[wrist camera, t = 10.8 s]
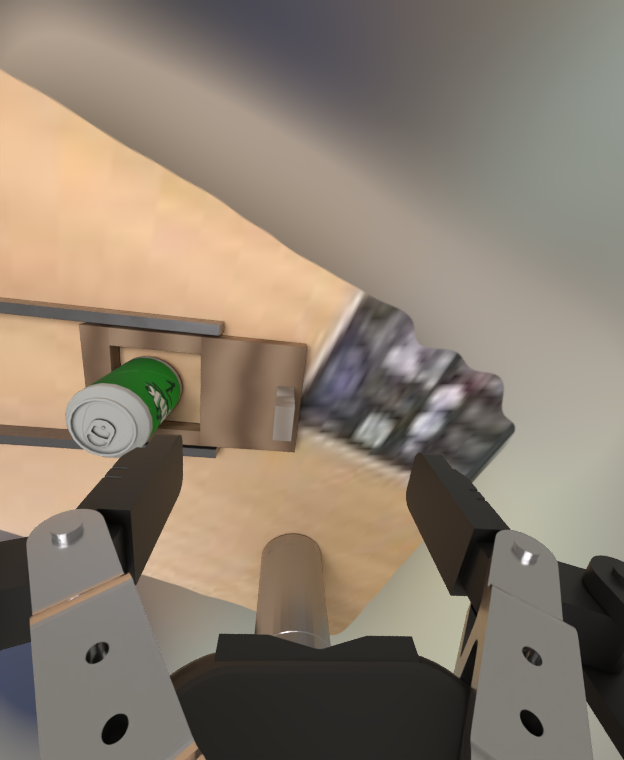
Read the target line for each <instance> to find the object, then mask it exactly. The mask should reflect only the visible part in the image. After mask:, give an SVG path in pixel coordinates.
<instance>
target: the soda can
mask: <svg viewBox="0 0 624 760" xmlns="http://www.w3.org/2000/svg"><path fill="white" fill-rule="evenodd" d="M181 394H182V384H181V381H180V378H179V376H178V374H177V373H176V371H175V370H174V369H173V367H171V366H170V365H169V364H167V363H166V362H165V361H162V360H160V359H157V358H155V357H146V356H143V357H138V358H133V359H132V360H130V361H128V362H127V363H125V364H123V365H122V366H120V367H119V368H117V369H115V370H114V371H112V372H110V373H109V374H107V375H105V376H104V377H102V378H101V379H99V380H97V381H96V382H94V383H92V384H91V385H89V386H88V387H86V388H84V389H83V390H81V391H79V392H78V393H76V394H75V395H74V396H73V398H72V399H71V400H70V402H69V403H68V406H67V409H66V413H65V416H66V424H67V427H68V429H69V432H70V434H71V436H72V438H73V440H74V441H75V442H76V443H77V444H78V445H79V446H80V447H81V448H83V449H85V450H86V451H88V452H90V453H93V454H96V455H99V456H103V457H111V458H120V457H121V456H122V455H124V454H126V453H127V452H129V451H131V450H133V449H134V448H136V447H141V448H142V447H143V445H144V444H145V443H146V442H147V441H148V440H149V438H150V437H151V436H152V435H153V433H154V432H155V431H156V429H157V428H158V427H159V426H160V424H161V423H162V422H163V421H164V419H165V418H166V417H167V416H168V414H169V413H170V412H171V411H172V409H173V408H174V407H175V406H176V404H177V403H178V402H179V399H180V397H181Z"/></svg>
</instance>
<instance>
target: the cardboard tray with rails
mask: <svg viewBox="0 0 624 760" xmlns="http://www.w3.org/2000/svg"><path fill="white" fill-rule="evenodd" d="M79 330H80V340H81V349H82V358H83V367H84V376H85V386H86V387H88V386H89V385H91V384H92V383H94V382H96V381H97V380H99V379H101V378H102V377H104V376H105V375H107V374H109V373H110V372H112V371H114V370H115V369H117V368H119V367H120V362H119V348H118V346H122V347H132V348H143V349H153V350H163V351H173V352H184V353H194V354H201V407H200V424H194V423H181V422H168V421H163V422H162V423H161V424H160V426H159V427H158V428H157V429H156V431H155V432H154V433H153V435H152V436H151V437H150V438H149V440H148V441H147V442H150V440H151V439H152V438H153V437H154V435H155V434H156V433H163V434H177V435H181V436H182V440H183V445H197V446H212V447H226V448H240V449H254V450H269V451H283V452H295V444H296V436H297V428H298V419H299V411H300V402H301V394H302V386H303V377H304V369H305V360H306V352H307V346H306V344H302V343H292V342H282V341H273V340H263V339H253V338H244V337H234V336H224V335H220V336H218V335H208V334H198V333H189V332H179V331H169V330H160V329H150V328H140V327H131V326H121V325H111V324H102V323H92V322H86V323H82V324H79Z"/></svg>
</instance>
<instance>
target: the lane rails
mask: <svg viewBox="0 0 624 760" xmlns="http://www.w3.org/2000/svg"><path fill="white" fill-rule="evenodd" d="M0 313H5V314H15V315H24V316H34V317H44V318H53V319H63V320H73V321H82V322H92V323H102V324H111V325H121V326H131V327H140V328H150V329H160V330H169V331H179V332H189V333H198V334H208V335H218V336H220V335H221V333H222V332H223V327H224V322H223V321H214V320H205V319H196V318H186V317H177V316H168V315H159V314H149V313H140V312H131V311H122V310H112V309H103V308H94V307H84V306H75V305H66V304H57V303H47V302H38V301H29V300H20V299H10V298H1V297H0ZM148 443H149V442H146V443H145V444H144V445H143V447H142V448H145V447H146V445H147V444H148ZM0 444H11V445H26V446H41V447H56V448H71V449H83V448H81V447H80V446H79V445H78V444H77V443H76V442H75V441H74V440H73V438H72V436H71V434H70V432H69V430H68V429H54V428H40V427H26V426H12V425H0ZM218 451H219V447H212V446H197V445H183V456H191V457H206V458H216V456H217V453H218Z"/></svg>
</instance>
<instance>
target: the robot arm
mask: <svg viewBox="0 0 624 760" xmlns="http://www.w3.org/2000/svg"><path fill="white" fill-rule="evenodd" d="M182 480H183V440H182V436H181V435H177V434H163V433H156V434H155V435H154V437H153V438H152V439H151V440H150V442H149V443H148V444H147V445H146V447H145V448H141V447H136V448H134V449H133V450H131V451H129V452H127V453H126V454H124V455H122V456H121V457H120V459H119V460H118V461H117V462H116V463H115V464H114V465H113V468H112V469H110V470H109V471H108V472H107V474H106V475H105V477H104V478H102V479H101V480H100V482H99V483H98V484H97V485H96V486H95V487H94V489H93V490H92V491H91V492H90V493H89V494H88V495H87V497H86V498H85V499H84V500H83V501H82V502H81V504H80V505H79V506H78V507H77V508H76V509H75V510H69V511H66V512H62V513H60V514H57V515H55V516H52V517H50V518H49V519H47V520H45V521H44V522H42V523H41V524H39V525H38V526H37V527H36V528H35V529H34V530H33V531H32V532H31V533H30V535H29V537H24V538H19V539H13V540H8V541H3V542H0V650H3V649H7V648H10V647H14V646H17V645H21V644H25V643H28V642H31V645H32V658H33V671H34V684H35V696H36V707H37V708H36V709H37V722H38V734H39V746H40V759H41V760H593V753H592V745H591V737H590V728H589V722H588V712H587V705H586V701H587V703H588V704H589V706H590V707H591V709H592V711H593V712H594V714H595V715H596V717H597V718H598V720H599V722H600V723H601V725H602V726H603V727H604V730H605V731H606V733H607V734H608V736H609V737H610V739H611V741H612V742H613V744H614V745H615V747H616V748H617V750H618V752H619V753H620V755H621V756H622V758H623V759H624V562H622V561H620V560H618V559H615V558H612V557H608V556H595V557H593V558H592V559H591V561H590V563H589V565H588V567H587V569H583V568H579V567H576V566H572V565H569V564H565V563H562V562H559V561H557V560H556V558H555V557H554V555H553V554H552V553H551V551H550V550H549V549H548V548H546V547H545V546H544V545H543V544H542V543H540V542H539V541H537V540H536V539H534V538H532V537H530V536H528V535H526V534H524V533H521V532H518V531H514V530H510V528H509V527H508V526H507V525H506V524H505V522H504V521H503V520H502V519H501V518H500V516H499V515H498V514H497V513H496V512H495V510H494V509H493V508H492V507H491V506H490V504H489V503H488V502H487V501H485V498H484V497H483V496H482V495H481V493H480V492H477V489H476V487H475V486H474V485H473V484H472V483H471V481H470V480H469V479H468V478H466V477H465V476H464V475H462V474H461V473H459V472H458V471H457V470H455V469H452V468H451V466H450V465H449V464H448V463H447V461H446V460H445V459H444V458H443V456H442V455H440V454H430V453H418V454H417V455H416V456H415V459H414V463H413V467H412V471H411V475H410V479H409V482H408V486H407V491H406V501H407V506H408V509H409V511H410V513H411V515H412V517H413V519H414V521H415V523H416V525H417V527H418V529H419V531H420V534H421V536H422V538H423V540H424V542H425V544H426V546H427V548H428V550H429V552H430V554H431V556H432V558H433V560H434V562H435V564H436V566H437V568H438V571H439V573H440V574H441V577H442V578H443V581H444V582H445V585H446V587H447V589H448V591H449V593H450V595H451V596H468V598H469V600H470V605H469V608H468V610H467V615H466V619H465V624H464V628H463V633H462V638H461V642H460V647H459V652H458V656H457V661H456V665H455V670H454V673H452V672H450V671H449V670H447V669H446V668H444V667H442V666H441V665H439V664H437V663H435V662H433V661H431V660H429V659H426V658H424V657H422V656H418V654H417V651H416V648H415V645H414V642H413V639H412V637H410V636H409V637H408V636H407V637H405V636H365V637H361V638H358V639H354V640H351V641H348V642H344V643H341V644H338V645H334V646H331V645H330V637H329V627H328V618H327V608H326V599H325V590H324V581H323V570H322V561H321V553H320V549H319V547H318V545H317V544H316V543H315V542H314V541H313V540H311V539H310V538H308V537H306V536H303V535H298V534H288V535H283V536H279V537H277V538H275V539H273V540H272V541H271V542H269V543H268V544H267V546H266V547H265V549H264V550H263V553H262V560H261V571H260V580H259V591H258V602H257V613H256V624H255V634H219V638H218V644H217V649H216V653H212V654H209V655H206V656H203V657H201V658H199V659H196V660H194V661H192V662H190V663H188V664H187V665H185V666H183V667H181V668H180V669H178V670H177V671H175V672H174V673H173V674H171V675H170V676H169V674H168V671H167V669H166V666H165V663H164V660H163V658H162V655H161V653H160V650H159V647H158V645H157V642H156V639H155V637H154V634H153V631H152V629H151V626H150V624H149V621H148V618H147V616H146V613H145V610H144V608H143V605H142V602H141V600H140V597H139V595H138V592H137V590H136V587H135V586H136V584H137V582H138V580H139V578H140V576H141V574H142V572H143V570H144V567H145V565H146V563H147V561H148V559H149V557H150V555H151V553H152V551H153V548H154V546H155V544H156V542H157V540H158V538H159V536H160V534H161V532H162V529H163V527H164V525H165V523H166V521H167V519H168V517H169V515H170V513H171V511H172V508H173V506H174V504H175V502H176V500H177V498H178V496H179V493H180V490H181V486H182Z"/></svg>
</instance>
